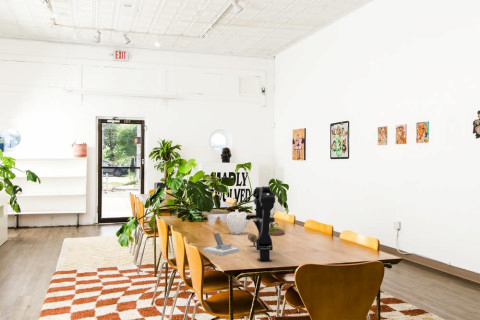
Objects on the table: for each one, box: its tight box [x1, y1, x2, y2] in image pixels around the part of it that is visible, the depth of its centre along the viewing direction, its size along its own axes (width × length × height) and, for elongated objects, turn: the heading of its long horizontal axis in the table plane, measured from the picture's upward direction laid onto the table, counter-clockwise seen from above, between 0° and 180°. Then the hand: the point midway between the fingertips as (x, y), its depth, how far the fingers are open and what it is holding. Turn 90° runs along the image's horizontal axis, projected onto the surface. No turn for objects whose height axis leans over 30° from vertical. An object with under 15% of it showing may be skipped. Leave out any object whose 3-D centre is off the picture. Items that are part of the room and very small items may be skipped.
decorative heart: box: [225, 211, 250, 235], centre depth 342 cm, size 18×11×17 cm, turn 106°
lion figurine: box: [247, 232, 258, 248], centre depth 297 cm, size 15×5×9 cm, turn 92°
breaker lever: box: [211, 230, 225, 248], centre depth 281 cm, size 2×5×12 cm
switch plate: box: [202, 243, 240, 256], centre depth 279 cm, size 16×16×5 cm
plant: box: [269, 222, 285, 237], centre depth 348 cm, size 20×20×11 cm
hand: (259, 232), depth 276 cm, fingers closed
